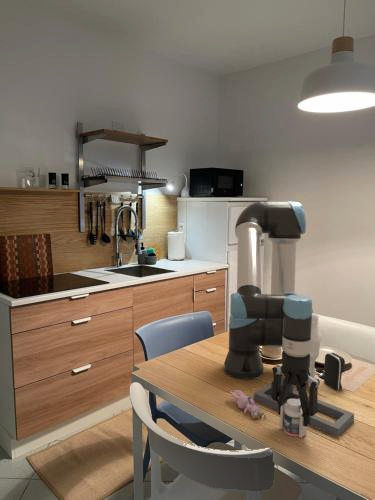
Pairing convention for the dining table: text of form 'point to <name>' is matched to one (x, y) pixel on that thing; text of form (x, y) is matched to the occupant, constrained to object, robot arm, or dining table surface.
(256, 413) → the rabbit figure
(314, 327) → the water bottle
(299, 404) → the pill bottle
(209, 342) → the dining table surface
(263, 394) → the gray rectangular open frame
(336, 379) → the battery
